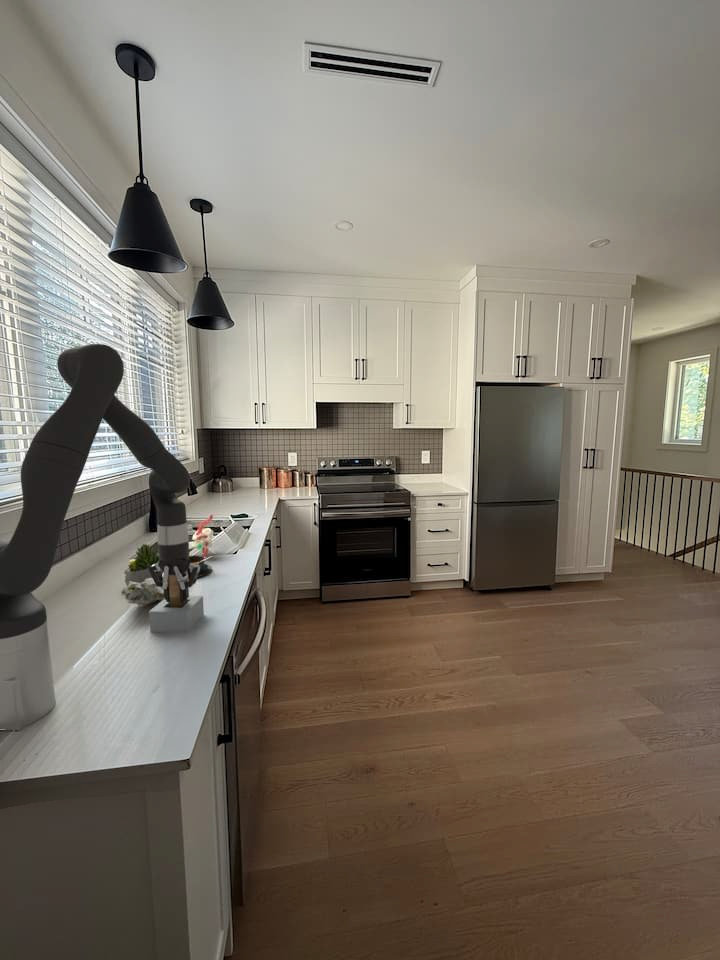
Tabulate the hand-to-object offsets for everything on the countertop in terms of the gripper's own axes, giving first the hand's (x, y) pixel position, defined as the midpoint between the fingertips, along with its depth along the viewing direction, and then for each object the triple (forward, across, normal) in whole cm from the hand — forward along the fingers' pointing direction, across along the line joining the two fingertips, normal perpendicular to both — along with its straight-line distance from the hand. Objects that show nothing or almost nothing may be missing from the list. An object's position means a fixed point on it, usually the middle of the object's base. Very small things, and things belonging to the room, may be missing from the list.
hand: (176, 600), depth 108 cm
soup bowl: (+7, -14, +38) cm, 41 cm away
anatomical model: (+7, -18, +57) cm, 60 cm away
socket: (+7, 0, 0) cm, 7 cm away
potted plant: (+7, -24, +26) cm, 36 cm away
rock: (+7, -15, +11) cm, 20 cm away
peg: (+4, 0, 0) cm, 4 cm away
